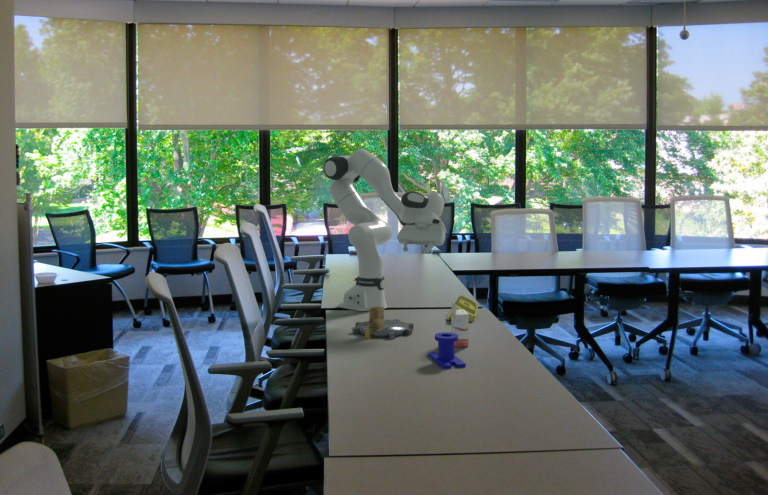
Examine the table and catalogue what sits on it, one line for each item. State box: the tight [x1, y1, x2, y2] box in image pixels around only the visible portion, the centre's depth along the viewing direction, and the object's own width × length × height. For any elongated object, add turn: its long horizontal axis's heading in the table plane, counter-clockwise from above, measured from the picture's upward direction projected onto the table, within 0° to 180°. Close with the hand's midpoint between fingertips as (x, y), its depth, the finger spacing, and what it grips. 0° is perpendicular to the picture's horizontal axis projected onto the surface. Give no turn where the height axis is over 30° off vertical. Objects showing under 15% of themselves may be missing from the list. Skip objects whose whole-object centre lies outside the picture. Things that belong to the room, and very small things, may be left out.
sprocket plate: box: [351, 318, 414, 340], centre depth 239 cm, size 24×24×3 cm
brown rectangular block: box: [368, 306, 385, 329], centre depth 234 cm, size 4×4×8 cm
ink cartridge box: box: [450, 301, 470, 348], centre depth 220 cm, size 9×5×15 cm, turn 5°
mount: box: [427, 332, 467, 370], centre depth 200 cm, size 15×8×9 cm, turn 14°
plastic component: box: [446, 294, 479, 323], centre depth 262 cm, size 20×7×10 cm
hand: (415, 251), depth 249 cm, fingers open, 8 cm apart
